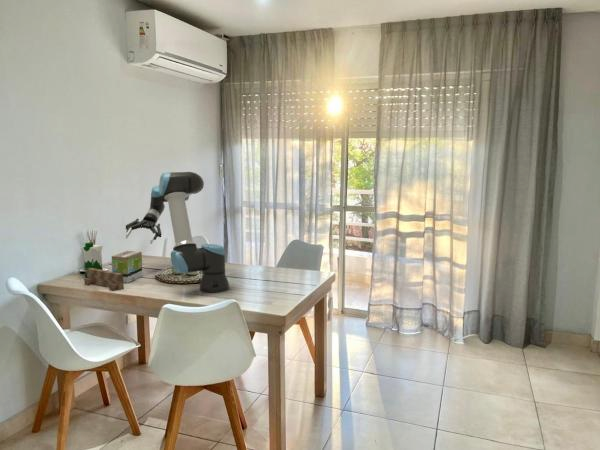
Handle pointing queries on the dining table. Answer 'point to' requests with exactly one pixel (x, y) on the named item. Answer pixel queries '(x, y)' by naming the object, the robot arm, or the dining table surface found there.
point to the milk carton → (92, 256)
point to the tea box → (128, 265)
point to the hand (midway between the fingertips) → (138, 239)
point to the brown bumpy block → (104, 279)
